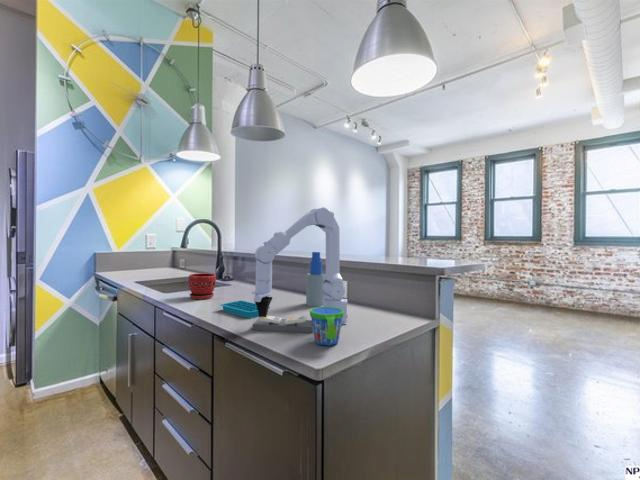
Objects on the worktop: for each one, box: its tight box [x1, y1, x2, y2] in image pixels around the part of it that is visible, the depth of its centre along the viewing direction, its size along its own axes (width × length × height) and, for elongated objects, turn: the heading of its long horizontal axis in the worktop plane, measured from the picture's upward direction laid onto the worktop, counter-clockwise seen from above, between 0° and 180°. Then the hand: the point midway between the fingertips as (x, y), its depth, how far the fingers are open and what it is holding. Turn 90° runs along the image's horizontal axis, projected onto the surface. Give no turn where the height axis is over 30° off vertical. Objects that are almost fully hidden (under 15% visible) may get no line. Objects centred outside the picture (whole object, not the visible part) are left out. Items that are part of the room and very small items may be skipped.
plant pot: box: [188, 272, 217, 300], centre depth 161 cm, size 13×13×12 cm
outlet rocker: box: [260, 314, 283, 324], centre depth 111 cm, size 7×4×1 cm, turn 84°
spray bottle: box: [305, 251, 326, 308], centre depth 150 cm, size 9×9×25 cm
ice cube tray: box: [220, 300, 271, 319], centre depth 134 cm, size 12×20×3 cm, turn 52°
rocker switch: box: [285, 315, 308, 325], centre depth 110 cm, size 7×4×1 cm, turn 83°
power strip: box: [251, 318, 313, 334], centre depth 113 cm, size 21×8×3 cm, turn 84°
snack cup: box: [309, 306, 344, 347], centre depth 99 cm, size 16×10×10 cm
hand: (262, 317), depth 112 cm, fingers closed, pressing on outlet rocker
